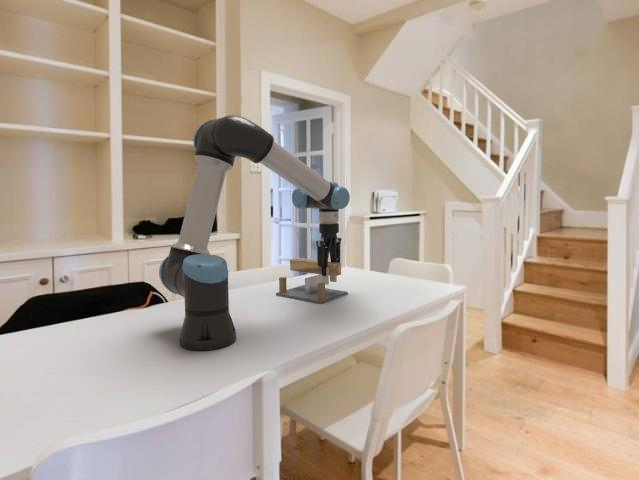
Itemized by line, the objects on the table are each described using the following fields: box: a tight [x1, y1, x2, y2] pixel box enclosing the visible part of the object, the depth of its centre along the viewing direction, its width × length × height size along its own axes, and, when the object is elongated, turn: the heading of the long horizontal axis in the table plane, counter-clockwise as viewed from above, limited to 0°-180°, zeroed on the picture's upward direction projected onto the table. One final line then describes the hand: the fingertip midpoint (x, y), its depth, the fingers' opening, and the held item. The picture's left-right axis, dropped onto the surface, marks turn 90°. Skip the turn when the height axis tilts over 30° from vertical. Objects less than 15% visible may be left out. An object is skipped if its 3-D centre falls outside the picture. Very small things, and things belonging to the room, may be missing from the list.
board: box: [275, 276, 349, 305], centre depth 166 cm, size 18×22×7 cm
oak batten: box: [289, 257, 342, 277], centre depth 167 cm, size 4×22×4 cm, turn 53°
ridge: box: [304, 274, 322, 294], centre depth 168 cm, size 10×2×7 cm, turn 143°
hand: (329, 282), depth 163 cm, fingers closed on oak batten, 4 cm apart
